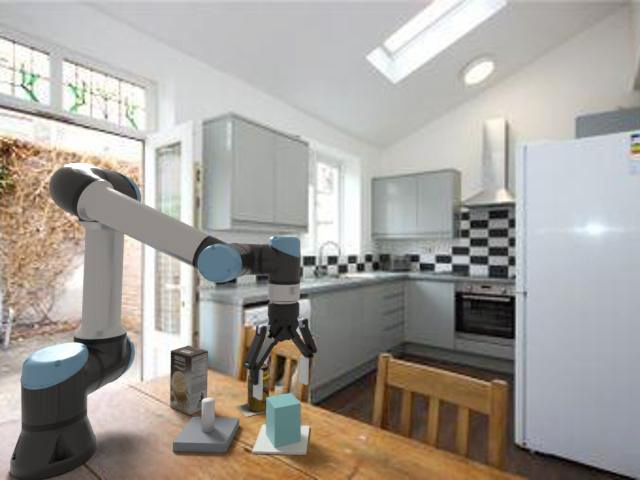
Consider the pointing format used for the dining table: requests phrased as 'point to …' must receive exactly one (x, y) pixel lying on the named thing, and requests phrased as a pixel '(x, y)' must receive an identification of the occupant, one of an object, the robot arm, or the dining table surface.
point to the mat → (266, 446)
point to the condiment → (253, 403)
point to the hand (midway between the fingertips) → (281, 390)
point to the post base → (206, 439)
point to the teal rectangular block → (283, 420)
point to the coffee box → (188, 378)
